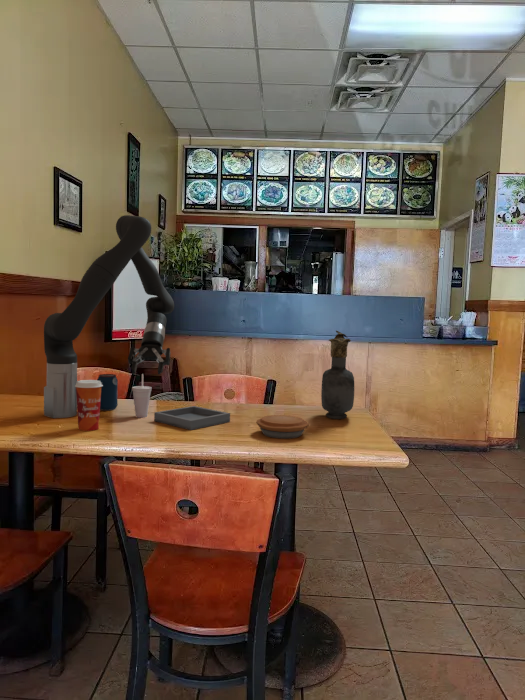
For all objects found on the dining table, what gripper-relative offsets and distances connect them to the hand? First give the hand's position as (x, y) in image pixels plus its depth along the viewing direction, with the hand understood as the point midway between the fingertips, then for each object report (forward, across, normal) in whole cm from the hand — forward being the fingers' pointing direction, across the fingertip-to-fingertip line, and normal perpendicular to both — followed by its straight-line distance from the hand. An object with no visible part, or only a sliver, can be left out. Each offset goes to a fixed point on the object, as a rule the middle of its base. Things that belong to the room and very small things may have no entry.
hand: (146, 372), depth 179 cm
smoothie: (+15, 0, +5) cm, 16 cm away
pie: (+28, +46, -8) cm, 54 cm away
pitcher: (+8, +66, +12) cm, 68 cm away
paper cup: (+29, -11, -9) cm, 32 cm away
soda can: (+7, -14, +12) cm, 20 cm away
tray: (+19, +18, +1) cm, 26 cm away
